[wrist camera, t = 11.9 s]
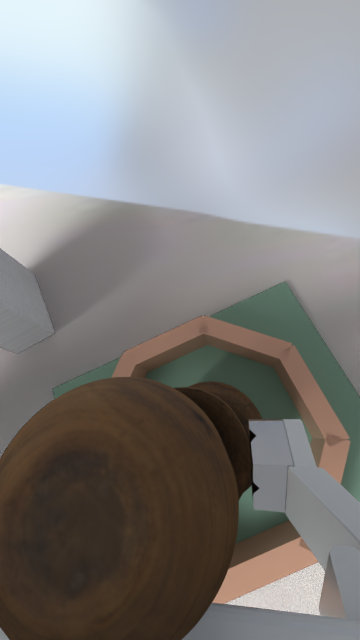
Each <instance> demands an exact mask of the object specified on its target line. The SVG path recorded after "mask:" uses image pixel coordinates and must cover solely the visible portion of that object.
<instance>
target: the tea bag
mask: <svg viewBox="0 0 360 640" xmlns="http://www.w3.org/2000/svg"><path fill="white" fill-rule="evenodd" d="M53 334H55V331H54V328H53V325H52V322H51V320H50V317H49V314H48V311H47V308H46V306H45V303H44V300H43V297H42V294H41V292H40V289H39V286H38V283H37V280H36V277H35V275H34V273H32V272H31V271H30V270H28V269H27V268H26V267H24V266H23V265H22V264H20V263H19V262H18V261H16V260H15V259H14V258H12V257H11V256H10V255H8V254H7V253H6V252H4V251H3V250H2V249H0V348H2V349H5V350H8V351H11V352H14V353H17V354H18V353H20V352H22V351H23V350H25V349H27V348H29V347H31V346H33V345H34V344H36V343H38V342H40V341H42V340H44V339H45V338H47V337H49V336H51V335H53Z"/></svg>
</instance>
